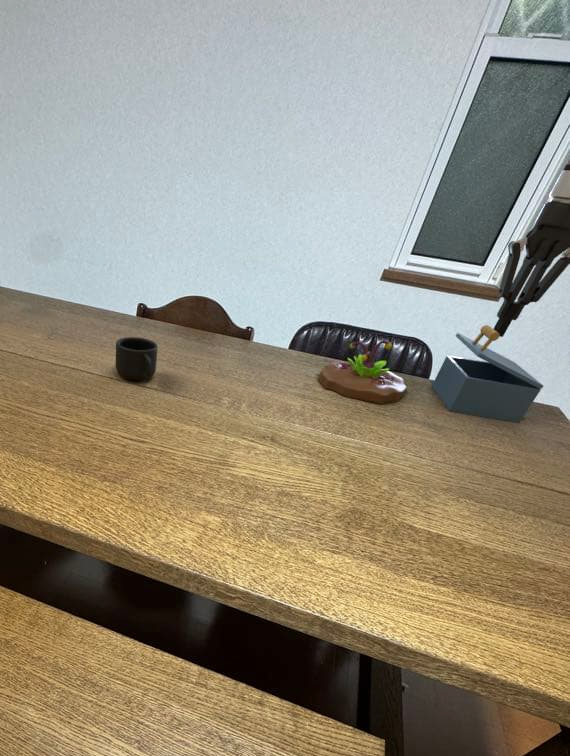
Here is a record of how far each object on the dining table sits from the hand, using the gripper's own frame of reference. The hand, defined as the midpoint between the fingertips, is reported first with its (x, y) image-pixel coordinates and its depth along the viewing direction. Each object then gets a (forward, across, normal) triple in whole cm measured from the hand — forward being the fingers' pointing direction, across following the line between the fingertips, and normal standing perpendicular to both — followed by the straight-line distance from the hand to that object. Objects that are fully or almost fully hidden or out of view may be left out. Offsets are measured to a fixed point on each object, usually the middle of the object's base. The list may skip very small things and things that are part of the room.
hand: (497, 334), depth 100 cm
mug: (+16, -76, -20) cm, 80 cm away
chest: (+16, +3, 0) cm, 16 cm away
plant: (+16, -24, -1) cm, 29 cm away
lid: (+5, +3, 0) cm, 6 cm away
